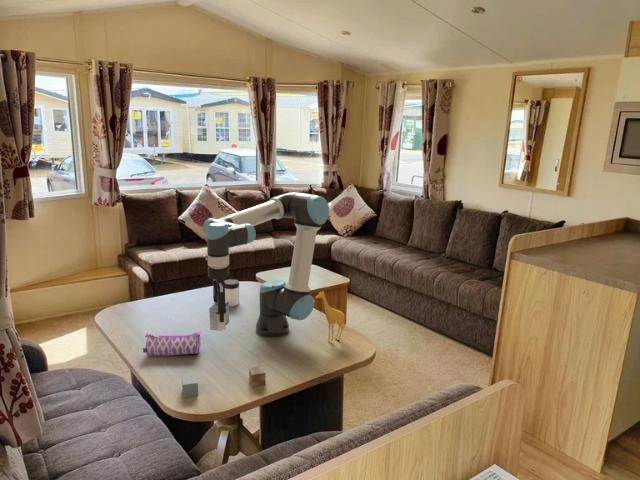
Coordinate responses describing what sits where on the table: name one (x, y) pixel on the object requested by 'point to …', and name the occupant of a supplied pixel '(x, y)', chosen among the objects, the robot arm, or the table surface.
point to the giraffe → (332, 315)
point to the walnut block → (257, 376)
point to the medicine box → (214, 316)
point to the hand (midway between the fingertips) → (219, 324)
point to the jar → (232, 292)
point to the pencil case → (172, 344)
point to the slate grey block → (190, 386)
